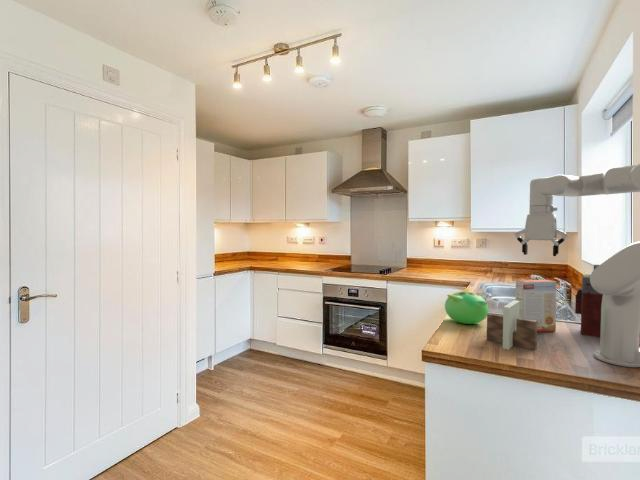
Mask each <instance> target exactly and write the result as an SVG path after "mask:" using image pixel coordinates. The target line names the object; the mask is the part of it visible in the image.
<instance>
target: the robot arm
mask: <svg viewBox="0 0 640 480" xmlns="http://www.w3.org/2000/svg"><path fill="white" fill-rule="evenodd" d="M628 193H629V194H630V193H640V162H638V164H632V165H624V166H616V167H610V168H607V169H606V170H604V171H602V172H599V173H592V174H587V175H586V174H585V175H568V174H555V175H553V176H548V177H537V178H532V179H531V180H530V183H529V214H527V215H526V220H525V226H524V229H521V230H519V231H517V232H515V233H514V236H515V238H516V239H517V241H518V243H520V244H521V246H522V247H521V252H522V253H523V255H525V256H526V255H528V244H527V243H528V242H529V241H551V242H552V243H553V246H552V256H553V257H557V255H559V249H560V247H559V246H560V245H561V244H562V243H564V242H565V241H566V239H567V237H568V236H569V234H568V233H567V232H565V231H562V230H560V229H557V228H558V227H557V224H558V222H557V217H556V214H555V213H554V212H557V211H558V206H556V207H555V206H554V196H556V197H570V198H571V197H573V198H574V197H586V196H598V195H599V196H600V195H601V196H602V195H606V196H607V195H614V194H615V195H616V194H617V195H618V194H628ZM521 235H524V239H523V238H522V237H521ZM558 235H561V237H560V238H559V240H558V239H557V236H558ZM598 265H599V266H598V267H597V268H595V269H594V268H593V270H592V272H591V274H590V275H591V276H590V283H591V285H592V287H593V288H594V289H595V290H596V291H597V292H599V293H601V294H603V297H602V307H601V333H600V337H599V338H600V339H599V341H600V342H599V349H597V350H594V351H593V356H594V357H595V359H598V360H600V361H602V362H605V363H608V364H610V365H615V366H620V367H626V368H640V241H636V242H633V243H631V244H629V245H626V246H625V247H623V248H622V249H620V250H619V251H617V252H616V253H615V254H613V255H611V256H610V257H609V258H608V259H606V260H605V261H604V262H602V263H600V264H598Z"/></svg>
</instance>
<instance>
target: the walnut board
mask: <svg viewBox="0 0 640 480" xmlns="http://www.w3.org/2000/svg"><path fill="white" fill-rule="evenodd" d="M486 341H488V342H489V341H490V342H494V343H500V344H503V314H499V313H498V314H497V313H491V312H488V314H487V316H486ZM537 341H538V332H537V320H531V319H524V318H517V320H516V331H514V332H513V346H514V347H519V348H523V349H529V350H532V351H533V350H534V351H536V350H537V343H538V342H537ZM513 346H512V347H513Z"/></svg>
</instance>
